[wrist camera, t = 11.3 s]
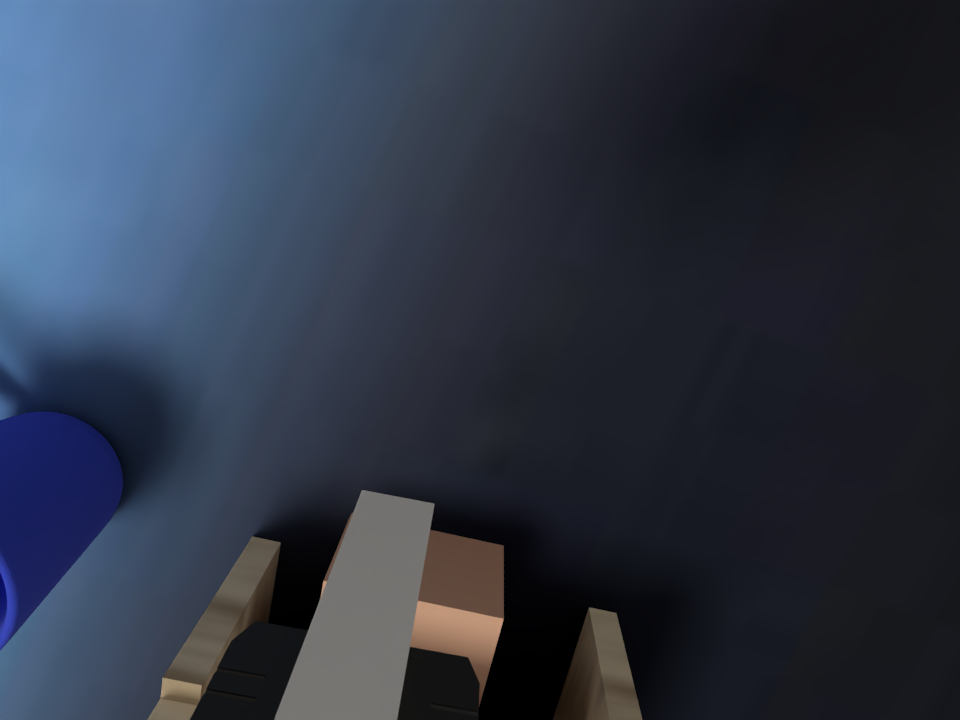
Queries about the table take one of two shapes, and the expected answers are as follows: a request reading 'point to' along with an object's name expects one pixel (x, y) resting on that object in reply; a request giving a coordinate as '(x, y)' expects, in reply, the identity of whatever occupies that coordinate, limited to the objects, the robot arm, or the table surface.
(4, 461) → the mug
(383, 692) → the robot arm
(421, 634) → the tan brown block
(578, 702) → the shelf nook
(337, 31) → the table surface
